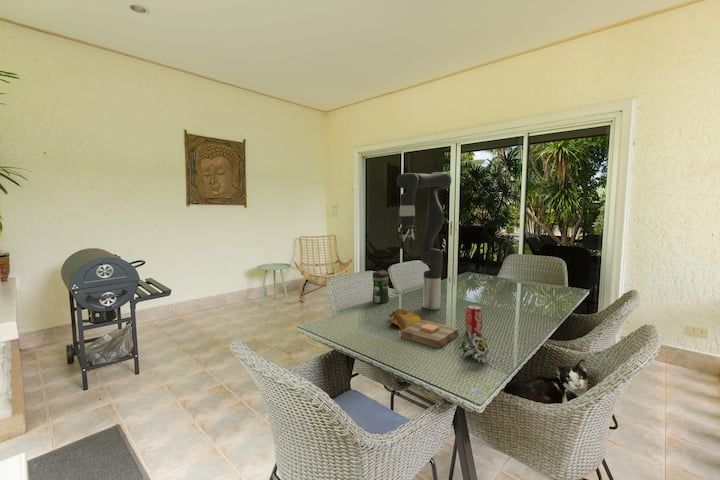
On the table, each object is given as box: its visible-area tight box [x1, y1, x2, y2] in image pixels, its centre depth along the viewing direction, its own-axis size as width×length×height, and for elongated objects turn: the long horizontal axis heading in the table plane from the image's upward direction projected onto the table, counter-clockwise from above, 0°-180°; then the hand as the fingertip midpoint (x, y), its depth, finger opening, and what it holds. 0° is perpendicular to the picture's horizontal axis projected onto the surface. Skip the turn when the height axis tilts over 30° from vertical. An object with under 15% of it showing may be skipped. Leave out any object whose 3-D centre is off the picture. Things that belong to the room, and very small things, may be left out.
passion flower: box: [458, 332, 489, 364], centre depth 126 cm, size 11×11×12 cm
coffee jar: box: [372, 269, 390, 304], centre depth 201 cm, size 10×8×19 cm
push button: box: [420, 323, 439, 333], centre depth 148 cm, size 6×6×4 cm
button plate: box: [400, 319, 459, 349], centre depth 148 cm, size 18×18×3 cm
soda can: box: [464, 304, 483, 336], centre depth 151 cm, size 7×7×12 cm
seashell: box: [388, 308, 422, 330], centre depth 164 cm, size 17×8×15 cm
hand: (406, 248), depth 167 cm, fingers open, 8 cm apart
